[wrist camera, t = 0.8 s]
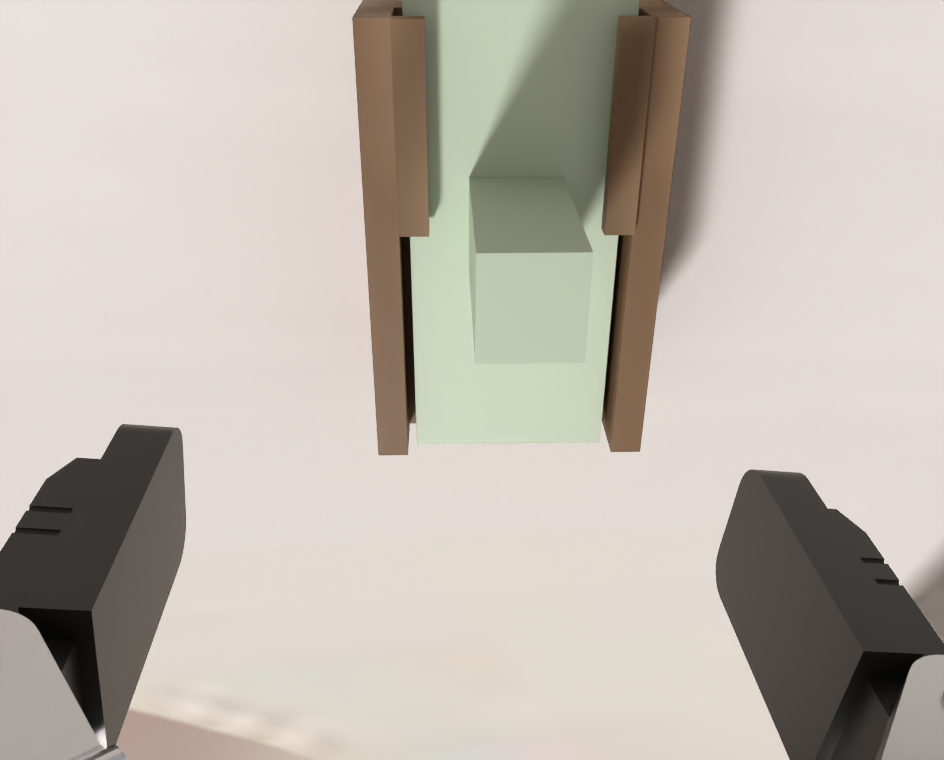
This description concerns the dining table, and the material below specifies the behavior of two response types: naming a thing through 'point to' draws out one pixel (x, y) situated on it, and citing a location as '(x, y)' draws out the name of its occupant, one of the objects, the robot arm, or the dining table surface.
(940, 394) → the dining table surface
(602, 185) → the lid
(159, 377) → the dining table surface
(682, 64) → the box
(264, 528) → the dining table surface
